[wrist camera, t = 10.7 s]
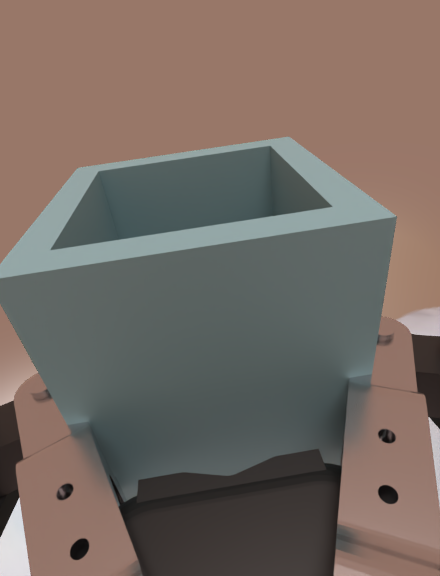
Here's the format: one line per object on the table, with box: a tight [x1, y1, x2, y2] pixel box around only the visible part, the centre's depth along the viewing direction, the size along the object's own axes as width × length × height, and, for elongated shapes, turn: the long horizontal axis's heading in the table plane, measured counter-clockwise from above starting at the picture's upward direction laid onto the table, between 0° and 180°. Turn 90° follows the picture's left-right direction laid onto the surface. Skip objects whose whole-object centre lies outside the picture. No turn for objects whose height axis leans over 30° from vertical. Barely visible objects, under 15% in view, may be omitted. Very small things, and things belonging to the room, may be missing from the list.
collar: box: [0, 137, 397, 500], centre depth 11 cm, size 6×6×11 cm
